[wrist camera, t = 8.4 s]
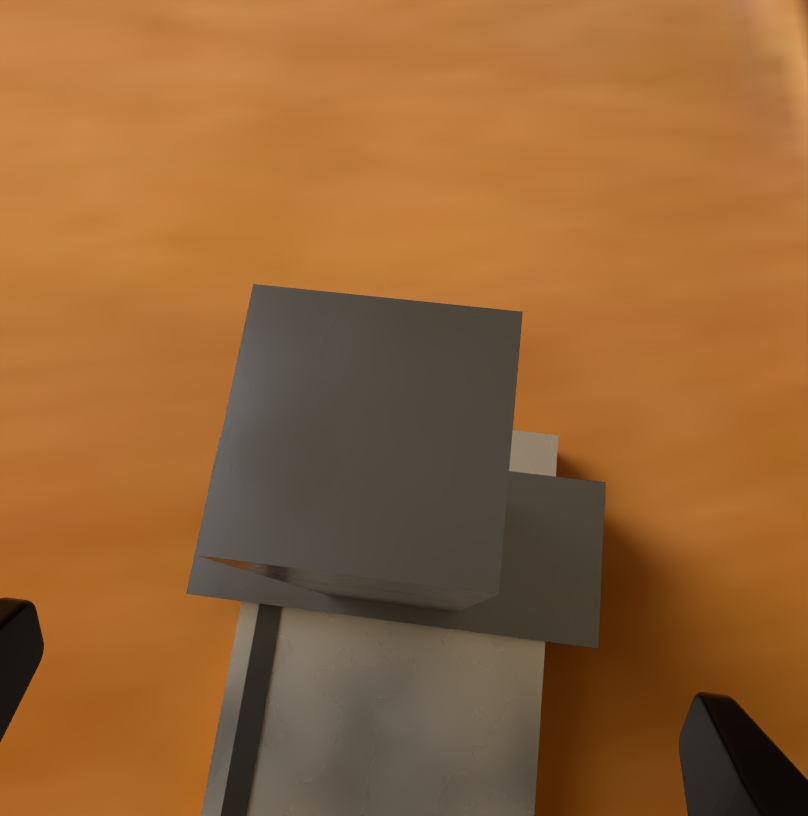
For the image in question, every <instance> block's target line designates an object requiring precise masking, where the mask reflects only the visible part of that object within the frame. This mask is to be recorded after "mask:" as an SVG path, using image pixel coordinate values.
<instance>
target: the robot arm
mask: <svg viewBox="0 0 808 816" xmlns="http://www.w3.org/2000/svg"><path fill="white" fill-rule="evenodd" d="M43 650H44V642H43V637H42V633H41V629H40V624H39V620H38V615H37V611H36V608H35V605H34V604H33V603H32V602H31V601H28V600H22V599H14V598H0V742H1V740H2V738H3V736H4V734H5V732H6V730H7V728H8V726H9V724H10V722H11V720H12V718H13V716H14V714H15V712H16V710H17V708H18V706H19V704H20V702H21V700H22V698H23V696H24V694H25V692H26V690H27V688H28V686H29V684H30V682H31V680H32V677H33V675H34V673H35V671H36V669H37V667H38V665H39V663H40V661H41V658H42V655H43ZM679 752H680V760H681V767H682V775H683V782H684V789H685V797H686V804H687V811H688V816H808V780H807V779H806V778H805V776H804V775H803V774H802V773H801V772H800V771H799V770H798V769H797V768H796V767H795V765H794V764H793V763H792V762H791V761H790V760H789V759H788V758H787V757H786V756H785V755H784V753H783V752H782V751H781V750H780V749H779V748H778V747H777V746H776V745H775V744H774V742H773V741H772V740H771V739H770V738H769V737H768V736H767V735H766V734H765V733H764V732H763V730H762V729H761V728H760V727H759V726H758V725H757V724H756V723H755V722H754V721H753V719H752V718H751V717H750V716H749V715H748V714H747V713H746V712H745V711H744V710H743V709H742V707H741V706H740V705H739V704H738V703H737V702H736V701H735V700H734V699H732V698H731V697H729V696H726V695H720V694H713V693H706V692H700V693H698V694H697V695H696V696H695V697H694V699H693V701H692V704H691V706H690V709H689V712H688V714H687V717H686V720H685V722H684V725H683V728H682V730H681V734H680V739H679Z"/></svg>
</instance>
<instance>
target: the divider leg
mask: <svg viewBox="0 0 808 816" xmlns="http://www.w3.org/2000/svg"><path fill="white" fill-rule="evenodd" d="M521 324H522V312H519V311H509V310H499V309H490V308H480V307H470V306H460V305H451V304H441V303H431V302H421V301H412V300H402V299H392V298H382V297H373V296H363V295H353V294H344V293H334V292H324V291H314V290H305V289H295V288H285V287H275V286H266V285H256V284H253V289H252V294H251V298H250V303H249V308H248V312H247V317H246V322H245V326H244V331H243V336H242V341H241V345H240V350H239V355H238V359H237V364H236V369H235V373H234V378H233V383H232V388H231V392H230V397H229V402H228V406H227V411H226V416H225V421H224V425H223V430H222V435H221V437H220V438H219V443H218V448H217V452H216V457H215V462H214V466H213V471H212V476H211V481H210V485H209V490H208V495H207V499H206V504H205V509H204V513H203V518H202V523H201V527H200V532H199V537H198V541H197V546H196V551H195V556H194V560H193V565H192V570H191V574H190V579H189V584H188V588H187V593H186V594H193V595H200V596H208V597H215V598H223V599H230V600H238V601H245V602H253V603H260V604H268V605H275V606H283V607H290V608H298V609H305V610H313V611H320V612H328V613H335V614H343V615H350V616H358V617H365V618H373V619H380V620H387V621H395V622H402V623H410V624H417V625H425V626H432V627H440V628H447V629H455V630H462V631H470V632H477V633H485V634H492V635H500V636H507V637H515V638H522V639H530V640H537V641H545V642H552V643H560V644H567V645H575V646H582V647H590V648H597V649H599V627H600V603H601V579H602V555H603V531H604V507H605V483H606V482H598V481H589V480H581V479H572V478H564V477H555V476H547V475H538V474H530V473H521V472H513V471H509V467H510V455H511V443H512V431H513V419H514V407H515V395H516V383H517V371H518V360H519V348H520V336H521Z"/></svg>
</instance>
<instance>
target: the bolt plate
mask: <svg viewBox="0 0 808 816" xmlns="http://www.w3.org/2000/svg"><path fill="white" fill-rule="evenodd" d="M557 450H558V435H550V434H541V433H532V432H524V431H515V430H513V431H512V443H511V455H510V467H509V471H513V472H521V473H530V474H538V475H547V476H555V477H556V466H557ZM544 655H545V641H537V640H530V639H522V638H515V637H507V636H500V635H492V634H485V633H477V632H470V631H462V630H455V629H447V628H440V627H432V626H425V625H417V624H410V623H402V622H395V621H387V620H380V619H373V618H365V617H358V616H350V615H343V614H335V613H328V612H320V611H313V610H305V609H298V608H290V607H283V606H275V605H268V604H260V603H253V602H245V601H242V602H241V607H240V613H239V618H238V623H237V628H236V634H235V639H234V644H233V649H232V655H231V660H230V665H229V671H228V676H227V681H226V686H225V692H224V697H223V702H222V707H221V713H220V718H219V723H218V728H217V734H216V739H215V744H214V750H213V755H212V760H211V765H210V771H209V776H208V781H207V786H206V792H205V797H204V802H203V808H202V813H201V816H534V812H535V797H536V781H537V765H538V749H539V734H540V718H541V702H542V687H543V671H544Z"/></svg>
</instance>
